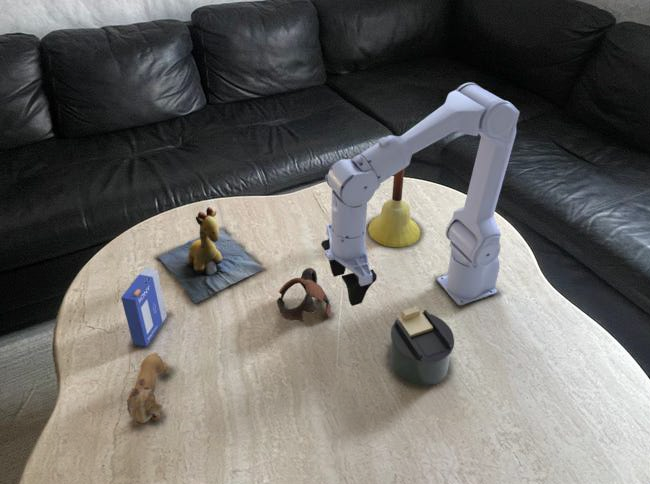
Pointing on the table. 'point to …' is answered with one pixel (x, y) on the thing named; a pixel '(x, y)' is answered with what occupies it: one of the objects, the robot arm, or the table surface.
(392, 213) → the handbell
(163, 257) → the stuffed giraffe
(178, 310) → the table surface
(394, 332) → the canister
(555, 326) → the table surface
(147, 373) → the lion figurine
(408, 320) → the slider
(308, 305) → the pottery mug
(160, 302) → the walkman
